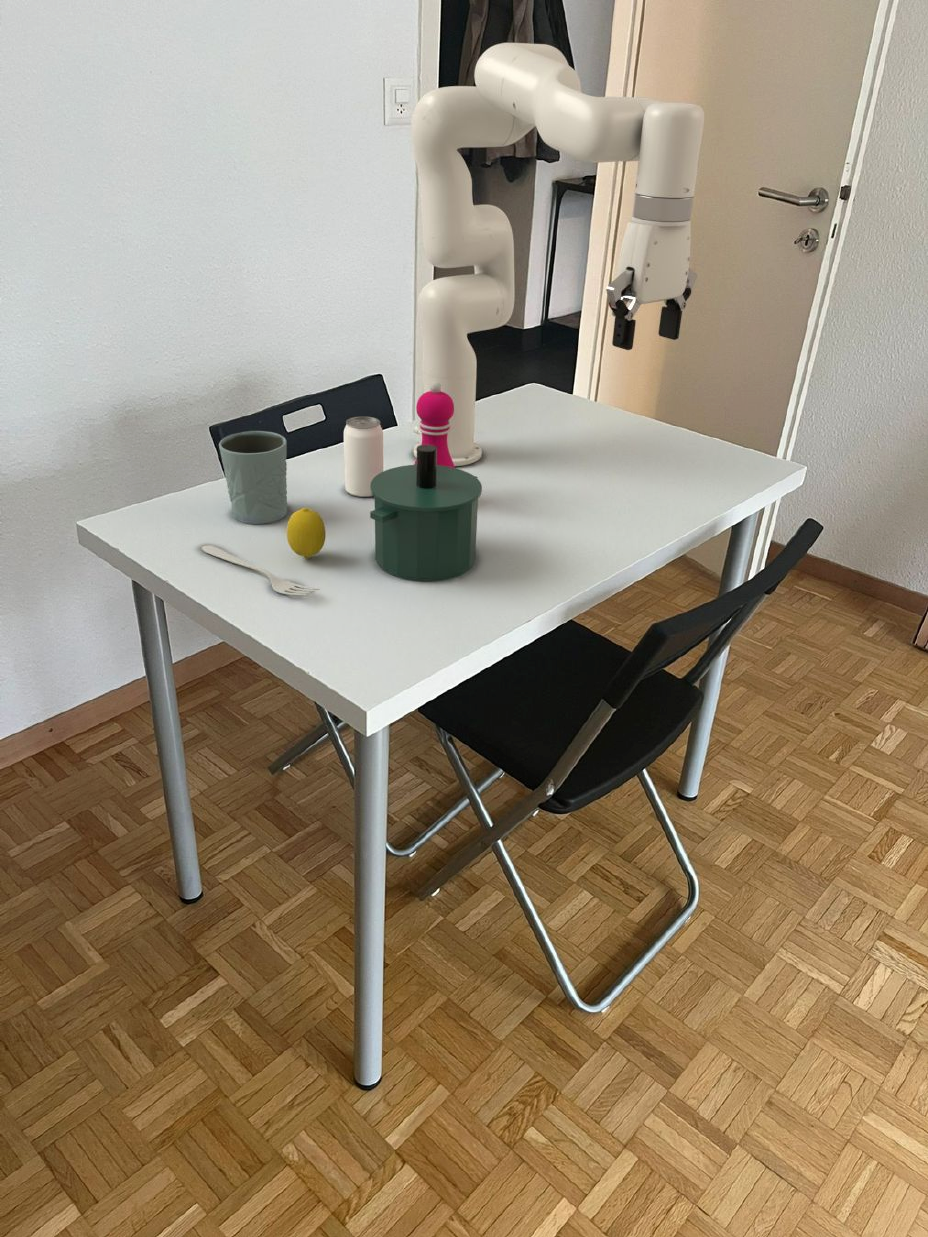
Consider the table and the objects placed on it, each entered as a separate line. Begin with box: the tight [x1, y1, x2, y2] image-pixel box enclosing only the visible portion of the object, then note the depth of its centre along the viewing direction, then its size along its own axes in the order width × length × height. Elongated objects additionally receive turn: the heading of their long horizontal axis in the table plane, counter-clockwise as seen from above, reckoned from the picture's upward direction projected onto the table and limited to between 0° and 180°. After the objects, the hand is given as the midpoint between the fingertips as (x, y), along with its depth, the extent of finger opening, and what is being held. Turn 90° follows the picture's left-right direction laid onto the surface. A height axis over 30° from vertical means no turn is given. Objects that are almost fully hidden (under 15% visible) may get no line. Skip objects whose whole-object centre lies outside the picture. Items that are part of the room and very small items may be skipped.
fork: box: [201, 544, 321, 596], centre depth 138 cm, size 3×24×2 cm, turn 49°
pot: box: [369, 475, 479, 582], centre depth 141 cm, size 15×20×11 cm
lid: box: [370, 445, 483, 512], centre depth 137 cm, size 16×16×7 cm
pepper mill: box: [413, 382, 456, 468], centre depth 157 cm, size 7×7×20 cm
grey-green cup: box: [218, 430, 288, 525], centre depth 153 cm, size 10×10×12 cm
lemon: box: [286, 506, 327, 560], centre depth 141 cm, size 6×6×8 cm
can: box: [343, 416, 384, 498], centre depth 162 cm, size 6×6×12 cm
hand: (645, 342), depth 135 cm, fingers open, 9 cm apart
